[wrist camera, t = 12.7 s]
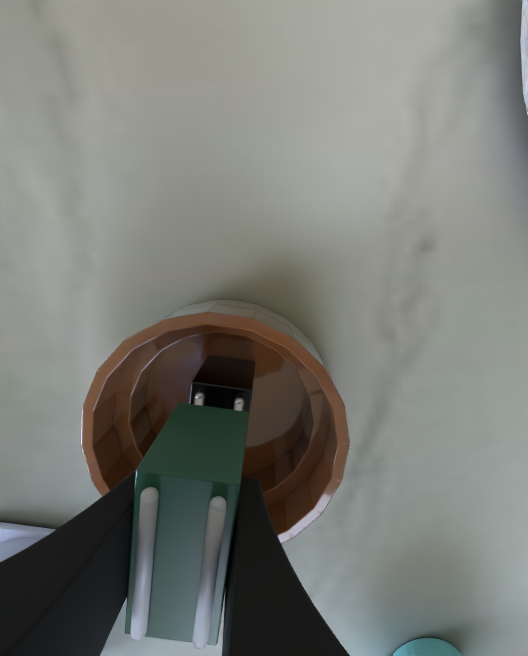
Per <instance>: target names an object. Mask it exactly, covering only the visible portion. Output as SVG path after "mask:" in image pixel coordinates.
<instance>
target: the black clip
mask: <svg viewBox="0 0 528 656" xmlns="http://www.w3.org/2000/svg"><path fill="white" fill-rule="evenodd" d="M255 367H256V362H254V361H247V360H240V359H233V358H226V357H218V356H211V355H208V356H207V358H206V359H205V361H204V363H203V364H202V366H201V367H200V369H199V371H198V372H197V374H196V375H195V377H194V379H193V380H192V382H191V389H190V399H189V404H194V405H202V406H209V407H216V408H223V409H231V410H238V411H245V412H250V405H251V398H252V391H253V383H254V375H255Z"/></svg>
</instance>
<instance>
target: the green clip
mask: <svg viewBox="0 0 528 656" xmlns="http://www.w3.org/2000/svg"><path fill="white" fill-rule="evenodd" d="M248 421H249V412H245V411H238V410H231V409H223V408H216V407H209V406H202V405H194V404H187V403H178V404H177V405H176V407H175V409H174V410H173V412H172V413H171V415H170V417H169V418H168V420H167V421H166V423H165V425H164V426H163V428H162V429H161V431H160V433H159V434H158V436H157V437H156V439H155V441H154V442H153V444H152V445H151V447H150V449H149V450H148V452H147V453H146V455H145V457H144V458H143V460H142V461H141V463H140V465H139V466H138V468H137V469H136V477H135V492H134V506H133V521H132V535H131V549H130V564H129V578H128V593H127V607H126V622H125V633H126V634H130V635H131V638H132V639H133V640H134V641H140V640H142V639H143V638H144V637H145V636H146V637H153V638H161V639H169V640H177V641H185V642H192V643H193V645H194V647H195V648H196V649H203V648H204V647H205V646H206V645H207V644H208V645H216V644H217V643H218V636H219V629H220V622H221V615H222V608H223V601H224V594H225V587H226V580H227V573H228V566H229V559H230V552H231V546H232V539H233V532H234V525H235V518H236V511H237V504H238V497H239V490H240V483H241V475H242V467H243V459H244V452H245V444H246V436H247V428H248Z"/></svg>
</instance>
